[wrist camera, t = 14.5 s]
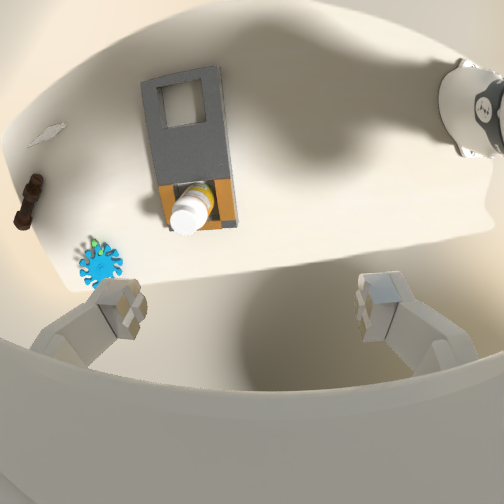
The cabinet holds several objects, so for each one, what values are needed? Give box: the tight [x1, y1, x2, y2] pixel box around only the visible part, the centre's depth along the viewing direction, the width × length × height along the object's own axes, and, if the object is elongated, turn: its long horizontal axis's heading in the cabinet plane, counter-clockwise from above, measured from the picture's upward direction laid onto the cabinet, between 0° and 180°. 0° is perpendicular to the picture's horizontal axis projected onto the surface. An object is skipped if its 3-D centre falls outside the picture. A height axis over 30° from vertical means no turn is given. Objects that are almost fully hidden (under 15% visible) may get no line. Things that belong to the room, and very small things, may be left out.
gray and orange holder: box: [141, 66, 238, 231], centre depth 39 cm, size 12×26×2 cm, turn 5°
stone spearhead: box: [27, 123, 67, 148], centre depth 38 cm, size 15×3×2 cm, turn 99°
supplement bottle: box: [170, 183, 216, 235], centre depth 40 cm, size 5×5×10 cm
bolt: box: [13, 174, 43, 230], centre depth 44 cm, size 6×5×15 cm
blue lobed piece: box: [79, 239, 123, 289], centre depth 51 cm, size 11×6×10 cm
